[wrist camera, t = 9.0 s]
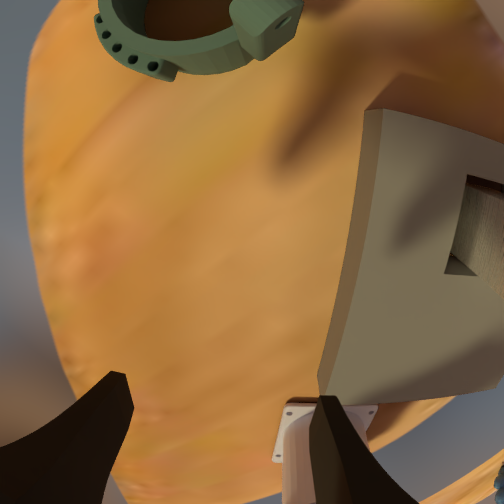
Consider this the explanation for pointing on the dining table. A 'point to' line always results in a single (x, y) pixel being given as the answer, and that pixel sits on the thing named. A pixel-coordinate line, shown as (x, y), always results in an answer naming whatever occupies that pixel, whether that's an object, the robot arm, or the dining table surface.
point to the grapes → (499, 487)
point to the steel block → (482, 235)
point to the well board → (413, 271)
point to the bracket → (201, 49)
